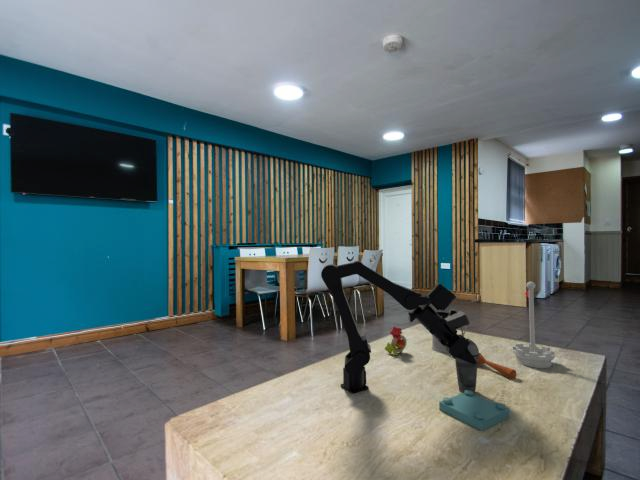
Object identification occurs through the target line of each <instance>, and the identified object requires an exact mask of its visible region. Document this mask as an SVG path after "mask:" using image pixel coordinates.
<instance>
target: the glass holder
mask: <svg viewBox="0 0 640 480" xmlns="http://www.w3.org/2000/svg"><path fill="white" fill-rule="evenodd" d="M435 312H436V313H437V314H438V315H440V316H442V317H443V318H444V319H445V318H447V316H449V312H446V311H435ZM466 332H467V325H465V328H464V330H463V333H464V335H465V334H466ZM431 335H432V334H431ZM431 337H432V339H431V340H432V345H431V348H432V349H431V350H432V351H435V352H439V353H445V354H447V353H448V352H447V350H446V346H444V345H442V344H441V343H440V342H439V341H438V340H437V339H436V338H435V337H434V336H433V335H432V336H431ZM448 354H449V353H448Z"/></svg>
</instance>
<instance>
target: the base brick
mask: <svg viewBox="0 0 640 480" xmlns="http://www.w3.org/2000/svg"><path fill="white" fill-rule="evenodd" d="M438 403H439V406H438V407H439V409H438V410H440V411H441V412H444V414H445V413H446V414H448V415H449V416H452V417H453V418H455V419H457V420H459V421H461V422H463V423H465V424H467V425H469V426H471V427H473V428H474V429H477V430H479V431H480V432H482V431H484V430H486V429H488V428H490V427H492V426H495V425H497V424H499V423H501V422H503V421H505V420H507V419H509V418H510V417H511V408H509V407H507V406H506V404H504V403H503V402H494V401H491V400H490V399H487V398H485V397H483V396H480V395H477V394H476V393H475V394H473V391H471V390H465V392H464V393H459V394H456V395H454V396H451V397H443V399H442V400H441V401H439V402H438Z"/></svg>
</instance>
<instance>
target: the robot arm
mask: <svg viewBox="0 0 640 480" xmlns="http://www.w3.org/2000/svg"><path fill="white" fill-rule="evenodd" d="M320 274H321V275H320V277H321V279H322V281H323V282H324V283H323V284H324V285H325V286H326V288H327V290H328V291H329V292H330V294H331V296H332V297H333V300H334V303H335V306H336V308H337V311H338V314H339V316H340V319H341V322H342V325H343V328H344V331H345V334H346V336H347V342H348V345H349V352H348V353H347V354H346V355H345V356H344V367H343V368H342V370H343V372H342V373H343V375H342V377H343V381H342V383H341V384H340V387H341V388H342V389H345V390H346V391H348V392H349V393H351V394H355V393H358V392H362V391H365V390H368V389H370V388H369V387H370V386H368V385H367V371H366V365H368V364H369V363H370V361H371V355H370V353H372V349H371V348H372V347H371V345H370V343H369V342H368V339H367V334H363V335H362V334H361V333H360V331H359V329H358V326H357V323H356V321H355V317H354V315H353V312H352V309H351V306H350V304H349V302H348V299H347V297H346V294H345V291H344V286H343V280H342V279H344V278H347V277H350V276H355V275H358V276H359V277H361V278H362V279H364V280H366V281H367V282H369V283H371V284H372V285H374V286H375V287H377V288H379V289H381V291H384V292H385V293H387V294H389V296H390V297H392V298H393V299H394V300H395V301H396V302H397V303H398V304H399V305H401V307H403V308H405V310H407V311H408V312H407V315H408V316H407V317H408V322H410V323H413V322H414V321H415V320H417V322H419V324H421V325H422V326H423V327H424V328H425V330H427V331H428V332H429V334H431V335H433V336H434V337H435V338H436V339H437V340H438V341H439V342H440V343H441V344H442V345H444V346H446V350H447V352H448V354H449V355H450V356H451V357H452V358H453V359H455V358H459V359H461V360H464V361H466V362H469V363H471V364H474V365H475V364H476V363H477V361H476V360H475V358H474V357H473V356H472V354H471V353H470V351H469V350H468V346H469V344H470V342H469V341H468V340H467V339H468V338H466V337H465V335H464V336H462V334H458V332H459V331H458V330H459V329H461V327H463V328H464V326H465V325H466V326H469V325H470V324H471V322H470V320H469V318H468V316H467V314H466V313H465V312H464V311H460V310H458V311H456V310H455V309H449V310H448V313H449V316H447V318H445V319H444V318H443V317H442V316H440V315H438V314H437V313H436V312H445V310H447V308H448V307H449V306H451V304H452V303H453V302H454V301H455V300H456V299H457V296H455V294H454V293H453V292H452V291H451V290H449V289H448V288H446V287H445V286H444V285H443V284H441V283H440V282H437V283H436V284H435V285H434V287H433V288H432V289H431V290H430V291H429V292H428V293H427V294H426V293H419V292H416V291H414V290H413V289H411V288H408V287H406V286H404V285H401V284H398V283H396V282H393V281H391V280H390V279H388V278H386V277H385V276H383V275H381V274H379V273H378V272H376V271H375V270H373V269H372V268H370V267H368V266H367V265H365V264H363V262H361V261H360V260H354V261H353V262H348V263H344V264H340V265H336V264H334V263H331V264H327V265H325V266H324V267H323V268H322V269H321V272H320ZM430 305H431V306H432V307H433V308H434V309H435V310H436V311H435V310H434V309H433V308H432V307H431V306H430Z"/></svg>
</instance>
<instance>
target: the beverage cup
mask: <svg viewBox="0 0 640 480" xmlns="http://www.w3.org/2000/svg"><path fill="white" fill-rule="evenodd" d="M460 329H461V335H462V336H464V337H465V334H464V326H463V327H460ZM466 339H467V340H468V341H469V342H470V344H469V346H468V350H469V351H470V353H471V354H472V356H473V357H474V358H475V360H476V361H477V363H476V364H475V365H474V364H471V363H469V362H466V361H464V360H461V359H459V358H454V359H455V361H454V362H455V370H456V378H457V386H458V391H459V392H460V394H462V393H464V392H465V390H471V391H473V394H475V395H476V389H477V378H478V377H477V376H478V365H479V364H478V359H479V353H480V352H479V351H480V350H479V348H478V345H477V344H476V343H475V342H474V341H473V340H472V339H470V338H466Z"/></svg>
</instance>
